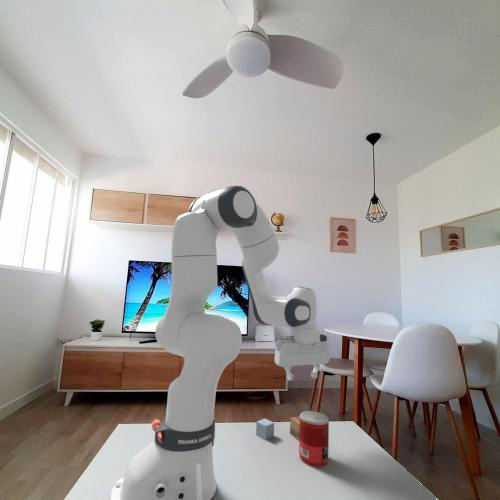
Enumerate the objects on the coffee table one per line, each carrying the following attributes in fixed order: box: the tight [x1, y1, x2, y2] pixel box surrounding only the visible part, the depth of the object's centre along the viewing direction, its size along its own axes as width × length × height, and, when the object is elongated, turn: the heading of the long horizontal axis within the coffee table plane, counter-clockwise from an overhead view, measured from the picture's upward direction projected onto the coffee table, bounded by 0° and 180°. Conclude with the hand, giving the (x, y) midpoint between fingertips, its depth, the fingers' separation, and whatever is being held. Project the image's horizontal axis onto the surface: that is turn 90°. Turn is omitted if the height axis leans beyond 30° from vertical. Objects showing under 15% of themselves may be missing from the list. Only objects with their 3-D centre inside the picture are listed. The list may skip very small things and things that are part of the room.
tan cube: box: [289, 415, 300, 442], centre depth 91 cm, size 5×5×5 cm
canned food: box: [298, 410, 330, 467], centre depth 79 cm, size 8×8×11 cm
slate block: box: [255, 418, 275, 441], centre depth 90 cm, size 4×4×4 cm
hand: (302, 378), depth 94 cm, fingers open, 8 cm apart
